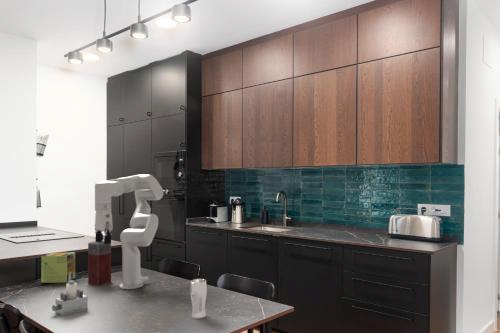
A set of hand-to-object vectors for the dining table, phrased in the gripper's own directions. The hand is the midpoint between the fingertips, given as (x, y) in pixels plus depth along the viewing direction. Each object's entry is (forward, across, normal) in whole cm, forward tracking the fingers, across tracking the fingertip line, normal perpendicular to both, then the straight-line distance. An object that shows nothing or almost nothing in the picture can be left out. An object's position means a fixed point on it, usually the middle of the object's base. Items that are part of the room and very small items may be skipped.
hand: (103, 242), depth 188 cm
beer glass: (+28, -51, -19) cm, 61 cm away
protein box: (+29, +59, +1) cm, 66 cm away
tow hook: (+29, +19, +7) cm, 35 cm away
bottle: (+22, -3, +16) cm, 28 cm away
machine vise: (+28, -3, +17) cm, 33 cm away
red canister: (+28, +36, -13) cm, 48 cm away
